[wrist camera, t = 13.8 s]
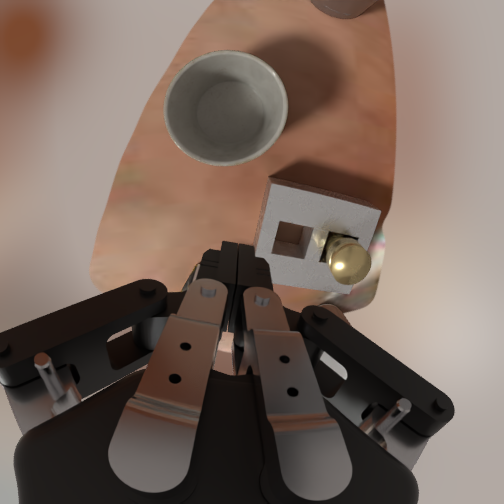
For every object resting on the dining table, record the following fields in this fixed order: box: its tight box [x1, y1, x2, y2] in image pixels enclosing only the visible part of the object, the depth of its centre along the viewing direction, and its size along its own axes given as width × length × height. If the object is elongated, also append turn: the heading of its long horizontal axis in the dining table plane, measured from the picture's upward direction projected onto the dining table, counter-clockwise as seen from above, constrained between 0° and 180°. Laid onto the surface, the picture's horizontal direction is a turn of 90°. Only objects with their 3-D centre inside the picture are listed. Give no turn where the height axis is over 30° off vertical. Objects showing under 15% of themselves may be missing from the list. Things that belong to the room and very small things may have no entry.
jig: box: [253, 177, 381, 294], centre depth 39 cm, size 14×16×5 cm
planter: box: [164, 50, 288, 166], centre depth 29 cm, size 13×13×10 cm
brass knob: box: [324, 231, 371, 285], centre depth 37 cm, size 5×5×10 cm
